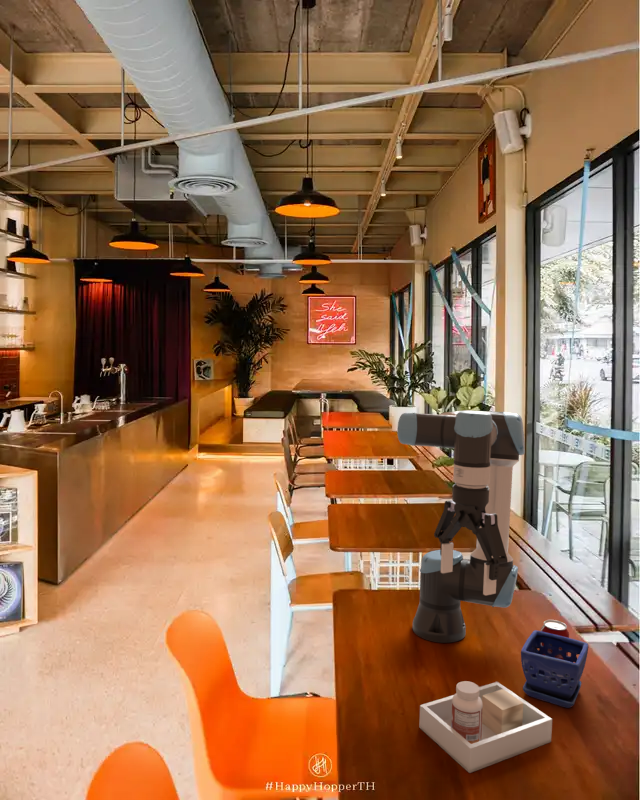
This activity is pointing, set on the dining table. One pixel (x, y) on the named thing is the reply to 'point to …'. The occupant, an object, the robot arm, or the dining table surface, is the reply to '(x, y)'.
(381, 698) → the dining table surface
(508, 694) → the beech cube
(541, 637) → the flower pot
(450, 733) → the tote
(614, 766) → the dining table surface
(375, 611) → the dining table surface
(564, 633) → the soda can
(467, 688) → the pill bottle
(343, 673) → the dining table surface
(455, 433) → the robot arm
